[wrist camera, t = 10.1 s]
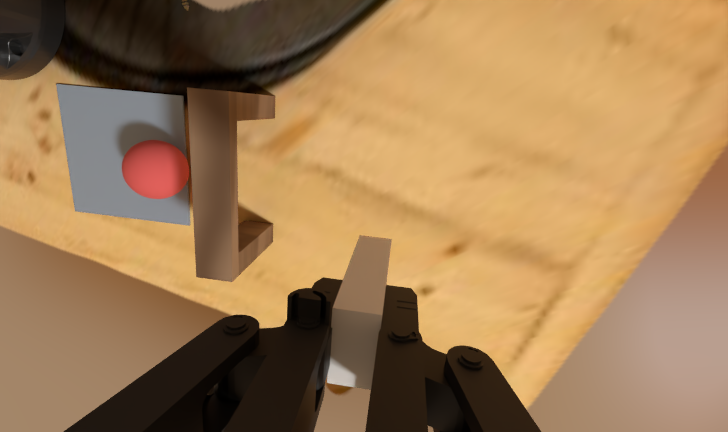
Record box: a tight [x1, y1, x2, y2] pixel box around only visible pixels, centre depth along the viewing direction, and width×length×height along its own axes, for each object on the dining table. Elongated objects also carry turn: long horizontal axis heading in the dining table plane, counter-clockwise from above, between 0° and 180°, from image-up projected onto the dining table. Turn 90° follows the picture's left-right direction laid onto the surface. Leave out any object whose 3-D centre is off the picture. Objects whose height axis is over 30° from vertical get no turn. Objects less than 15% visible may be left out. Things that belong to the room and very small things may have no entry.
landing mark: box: [56, 84, 190, 225], centre depth 37 cm, size 13×13×1 cm
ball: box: [122, 140, 189, 199], centre depth 34 cm, size 6×6×6 cm
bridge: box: [187, 88, 275, 282], centre depth 31 cm, size 3×14×9 cm, turn 175°
